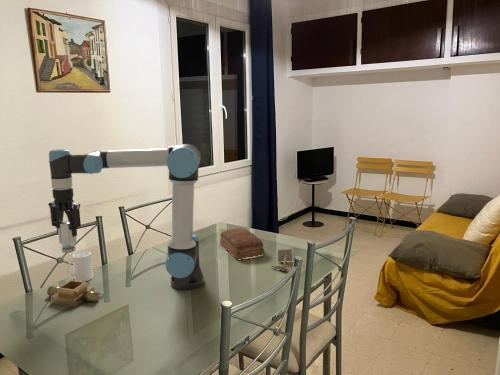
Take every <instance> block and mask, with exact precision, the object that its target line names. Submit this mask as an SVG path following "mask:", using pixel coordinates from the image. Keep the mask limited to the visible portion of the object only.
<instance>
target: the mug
mask: <svg viewBox="0 0 500 375" xmlns="http://www.w3.org/2000/svg"><path fill="white" fill-rule="evenodd" d="M71 264H72V266H73V273H71V272H70V270H69V267H70V265H71ZM66 272H67V274H69V275H70V276H72V277H73V278H74V281H82V282H87V281H90V280H92V279H93V278H94V274H93V272H94V271H93V261H92V253H91V252H90V251H86V250H83V251H77V252H75V253H73V254H72V260H70V261H69V263H68V264H67V267H66Z"/></svg>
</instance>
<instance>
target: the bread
mask: <svg viewBox="0 0 500 375" xmlns="http://www.w3.org/2000/svg"><path fill="white" fill-rule="evenodd" d="M219 236H220V237H219V238H220V239H219V244H220V246H221V247H222V246H223V247H224V248H225V249H226V251H227V250H228V251H229V252H230V253H231V254H232V255H233V256H234V257H235V258H236V259H235V258H234V257H233V256H232V255H231V254H230V253H229V252H228V251H227V252H228V253H229V254H230V255H231V256H232V257H233V258H234V259H235V260H237V259H242V258H246V257H253V256H258V255H262V254H264V255H265V249H264V243H263V241H262V240H261V239H260V238H259V237H258V236H257V235H255V234H254V233H253V232H252V231H250V230H248V229H246V228H241V227H240V228H239V227H238V228H229V229H226V230H224V231H222V232H221V233H220V234H219ZM223 247H222V248H223ZM224 248H223V249H224ZM225 249H224V250H225Z"/></svg>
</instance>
